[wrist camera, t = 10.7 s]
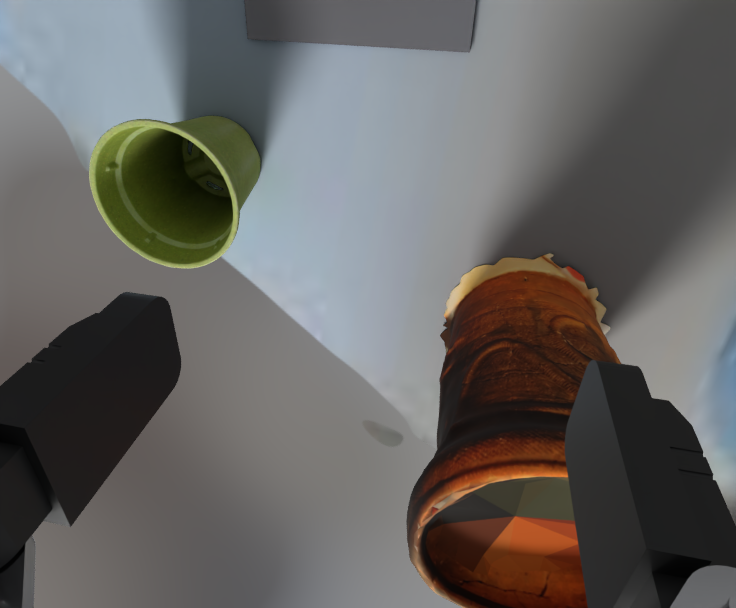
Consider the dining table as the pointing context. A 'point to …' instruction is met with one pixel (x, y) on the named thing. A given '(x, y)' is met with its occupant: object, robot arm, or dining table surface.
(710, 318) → the dining table surface
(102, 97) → the dining table surface
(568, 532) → the vessel
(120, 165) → the plant pot
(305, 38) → the mat
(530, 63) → the dining table surface
